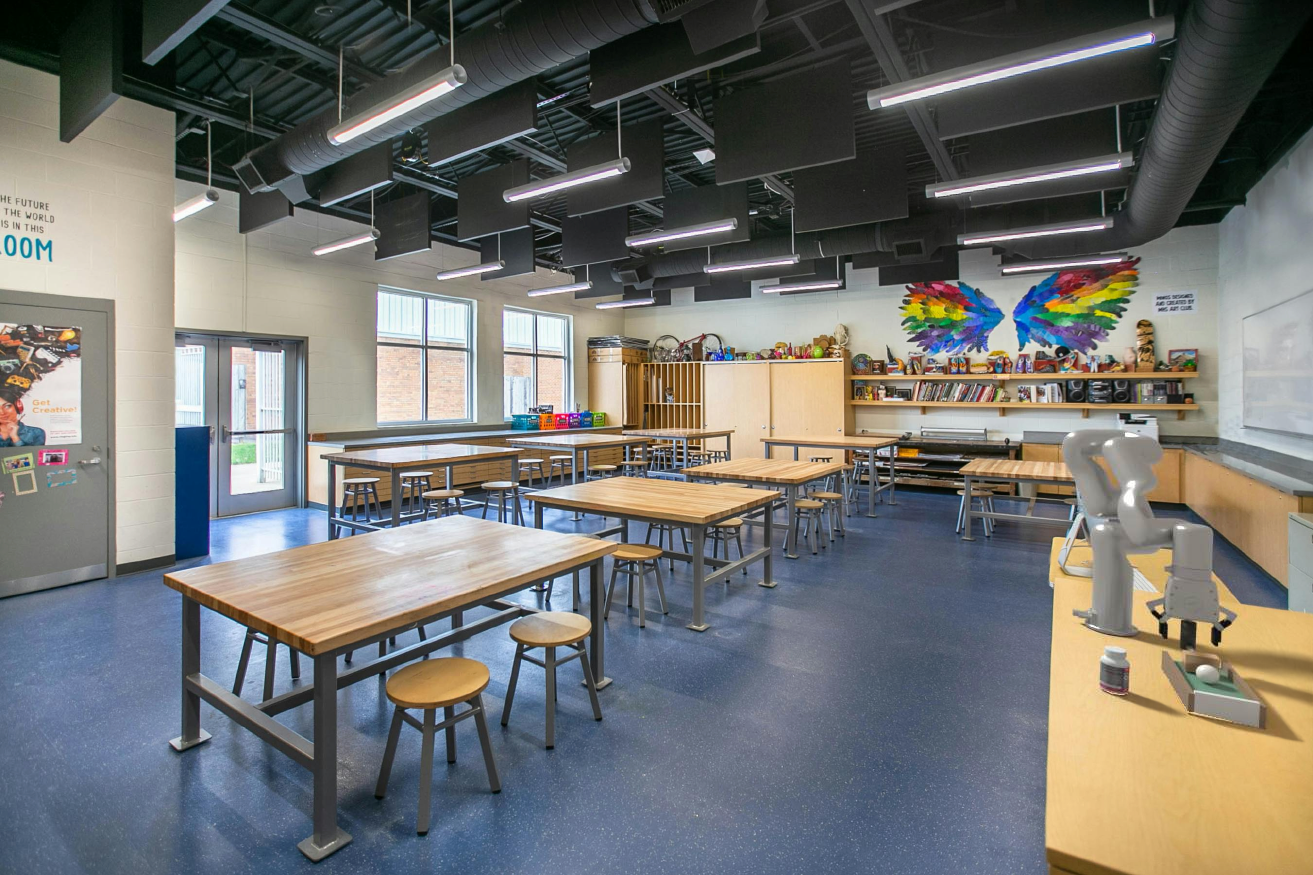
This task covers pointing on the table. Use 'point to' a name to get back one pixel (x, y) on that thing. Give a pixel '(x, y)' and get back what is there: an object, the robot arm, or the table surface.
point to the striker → (1194, 649)
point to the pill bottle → (1114, 670)
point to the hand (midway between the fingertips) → (1189, 640)
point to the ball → (1207, 674)
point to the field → (1216, 694)
